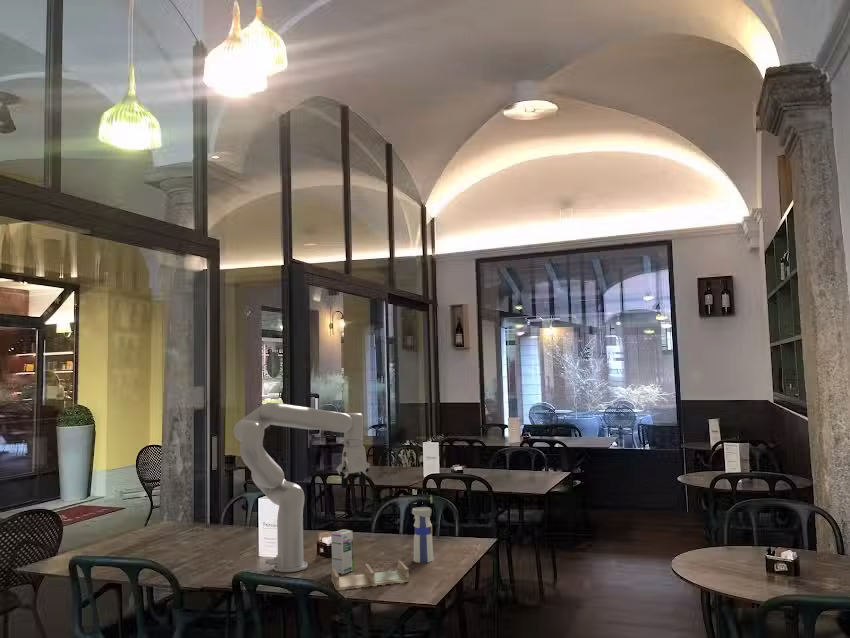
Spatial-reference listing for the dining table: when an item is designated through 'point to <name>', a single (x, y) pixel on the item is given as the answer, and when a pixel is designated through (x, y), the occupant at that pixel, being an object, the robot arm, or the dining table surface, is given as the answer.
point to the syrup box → (342, 551)
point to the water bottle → (423, 534)
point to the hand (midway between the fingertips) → (353, 486)
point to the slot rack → (370, 578)
